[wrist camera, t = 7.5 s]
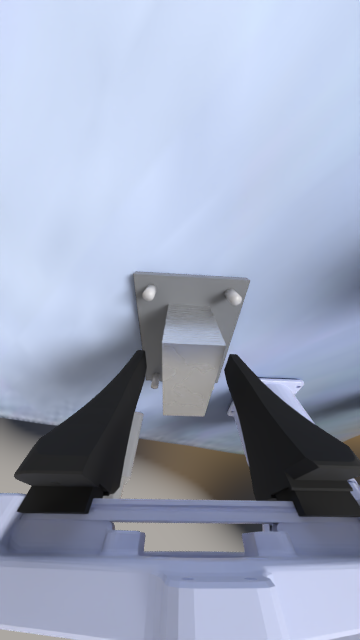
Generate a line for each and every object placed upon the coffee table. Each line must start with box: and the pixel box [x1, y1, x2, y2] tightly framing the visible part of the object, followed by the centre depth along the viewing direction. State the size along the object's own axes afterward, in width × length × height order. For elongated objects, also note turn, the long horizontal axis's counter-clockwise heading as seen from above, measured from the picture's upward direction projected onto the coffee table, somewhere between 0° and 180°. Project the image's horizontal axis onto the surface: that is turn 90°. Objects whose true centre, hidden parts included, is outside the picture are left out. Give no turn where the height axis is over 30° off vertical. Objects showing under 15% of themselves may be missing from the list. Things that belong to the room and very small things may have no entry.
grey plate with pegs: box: [133, 272, 250, 389], centre depth 14 cm, size 13×9×2 cm
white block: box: [162, 304, 226, 416], centre depth 12 cm, size 8×4×5 cm, turn 177°
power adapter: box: [103, 412, 143, 499], centre depth 19 cm, size 3×5×12 cm, turn 160°
